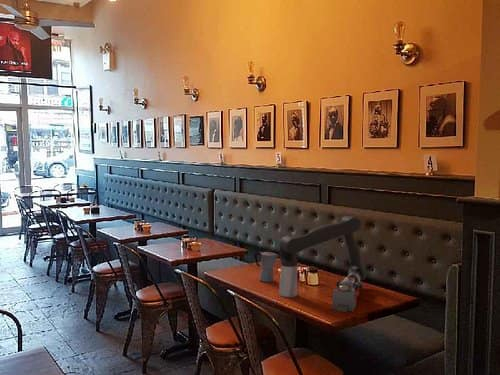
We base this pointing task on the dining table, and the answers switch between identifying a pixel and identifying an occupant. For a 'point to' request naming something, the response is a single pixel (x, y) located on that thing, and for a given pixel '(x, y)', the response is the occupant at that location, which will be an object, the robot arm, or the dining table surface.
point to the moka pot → (266, 265)
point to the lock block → (349, 283)
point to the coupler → (344, 299)
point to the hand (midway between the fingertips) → (347, 287)
